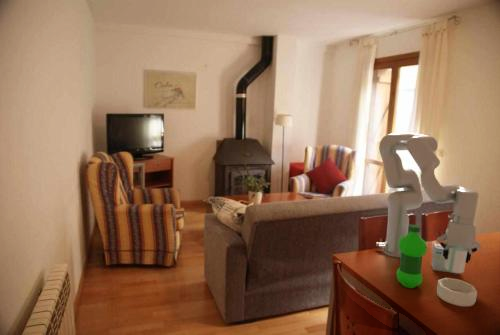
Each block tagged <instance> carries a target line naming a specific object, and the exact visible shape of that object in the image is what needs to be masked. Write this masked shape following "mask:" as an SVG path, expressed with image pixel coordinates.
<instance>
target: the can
mask: <svg viewBox="0 0 500 335" xmlns="http://www.w3.org/2000/svg"><path fill="white" fill-rule="evenodd" d="M448 251H449V252H448V258H447V259H446V260H445V266H444V267H445V268H446V269H447V270H448V271H450V272H449V273H451V272H452V274H458V275H459V273H460V274H462V273H464V272H465V268H466V264H467V263H466V257H467V252H468V249H466V248H462V247H460V246H458V247H454V246H450V247H449V248H448Z"/></svg>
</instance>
